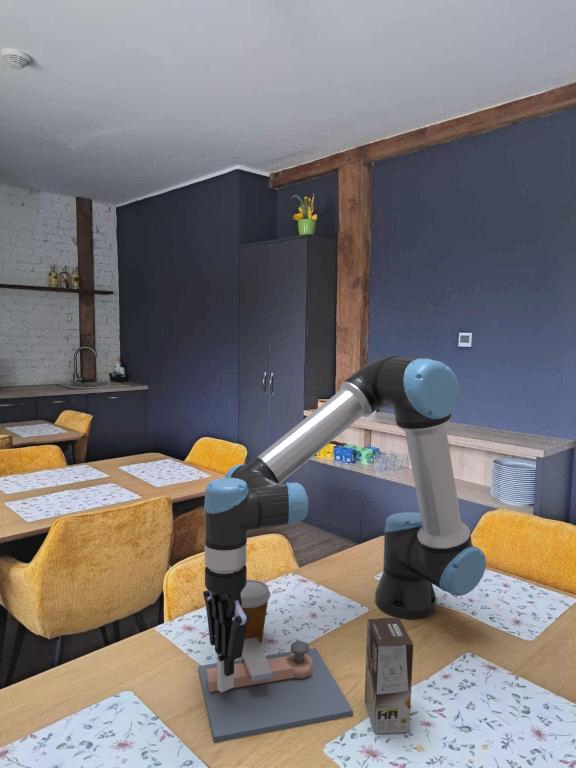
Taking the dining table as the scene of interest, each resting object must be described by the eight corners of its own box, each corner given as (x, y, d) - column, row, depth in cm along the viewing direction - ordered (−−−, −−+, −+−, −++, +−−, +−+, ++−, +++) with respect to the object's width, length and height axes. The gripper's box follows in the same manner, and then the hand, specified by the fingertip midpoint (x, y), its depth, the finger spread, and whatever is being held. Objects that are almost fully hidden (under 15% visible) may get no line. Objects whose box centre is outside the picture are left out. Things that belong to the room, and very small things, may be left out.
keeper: (256, 662, 114) (257, 637, 113) (272, 700, 103) (272, 672, 102) (237, 665, 113) (238, 639, 112) (250, 704, 101) (251, 676, 101)
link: (307, 660, 113) (307, 637, 112) (315, 676, 108) (316, 651, 107) (206, 676, 107) (206, 652, 106) (210, 693, 102) (210, 668, 101)
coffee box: (410, 733, 95) (415, 645, 94) (374, 734, 95) (378, 646, 93) (396, 697, 104) (399, 616, 103) (362, 698, 104) (365, 617, 102)
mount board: (315, 652, 118) (315, 647, 118) (352, 715, 99) (353, 710, 99) (198, 670, 111) (198, 665, 111) (214, 742, 92) (214, 737, 92)
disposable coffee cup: (263, 655, 117) (264, 601, 115) (220, 649, 118) (221, 596, 117) (273, 631, 126) (274, 581, 125) (233, 626, 128) (234, 576, 126)
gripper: (263, 572, 97) (261, 699, 99) (225, 548, 107) (225, 663, 110) (226, 584, 92) (225, 716, 95) (190, 557, 103) (190, 677, 105)
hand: (225, 687), depth 102 cm, fingers closed
